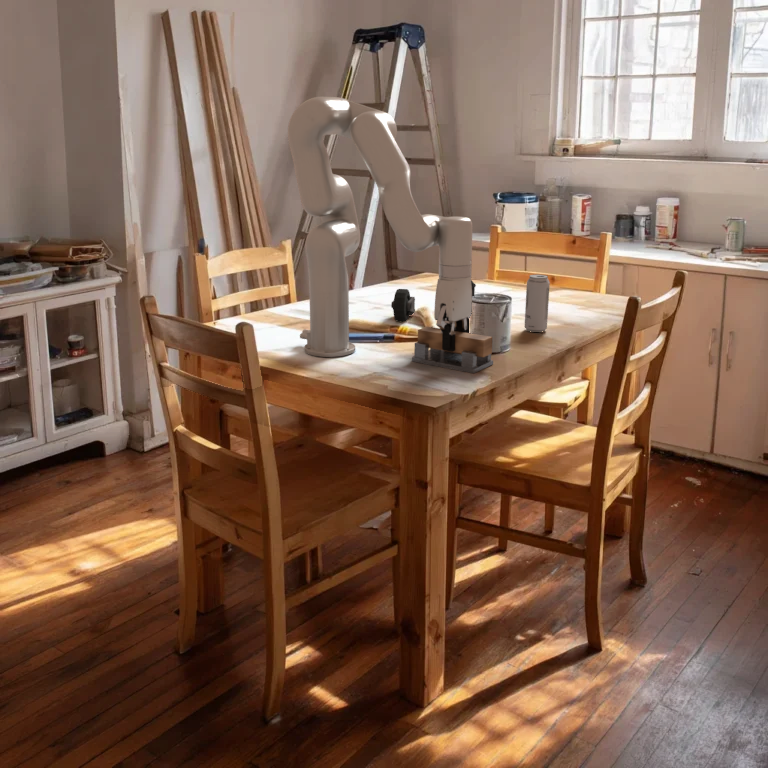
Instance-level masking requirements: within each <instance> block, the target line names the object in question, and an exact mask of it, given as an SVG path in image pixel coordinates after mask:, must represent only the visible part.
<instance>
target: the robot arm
mask: <svg viewBox="0 0 768 768" xmlns="http://www.w3.org/2000/svg"><path fill="white" fill-rule="evenodd" d="M397 134H398V127H397V123H396V121H395V119H394V118H393V117H392V116H391V115H390V114H389V113H387V112H385V111H383V110H379V109H376V108H373V107H370V106H366V105H364V104H361V103H358V102H355V101H352V100H349V99H346V98H344V97H338V96H315V97H312V98H309V99H307V100H305V101H304V102H302V103H300V105H298V107H296V108H295V110H294V111H293V113H292V114H291V116H290V119H289V122H288V127H287V138H288V139H287V140H288V145H289V150H290V153H291V157H292V161H293V167H294V172H295V177H296V183H297V188H298V193H299V197H300V202H301V205H302V208H303V210H304V211H305V213H306V214H307V215H308V216H311V217H314V218H320V220H321V221H320V222H321V223H319V224H317V225H315V226H314V227H312V228H311V230H309V232H308V233H307V235H306V239H305V242H304V243H305V245H304V247H305V248H304V249H305V257H306V261H307V262H306V263H307V270H308V289H309V329H306V328H305V329H303V330H302V332H301V333H300V335H299V339H301V340H303V339H304V340H306V344H305V345H304V352H305V353H306V354H308V355H310V356H314V357H321V358H323V357H324V358H335V357H343V356H348V355H351V354H353V353H355V352H356V345H355V344H354V343H352V342H350V319H349V318H350V313H349V312H350V310H349V307H350V306H349V303H350V302H349V301H350V300H349V299H350V297H349V294H350V293H349V292H350V289H349V274H348V273H349V272H348V268H347V267H348V266H347V263H346V262H347V261H346V257H349V256H350V255H352V254H354V253H355V252H356V250H357V249H358V248H359V245H360V242H361V230H360V225H359V220H358V213H357V208H356V203H355V199H354V193H353V190H352V189H351V186H350V185H349V183H348V181H347V180H346V179H345V178H344V177H342V176H341V175H338V174H336V173H335V174H334V173H333V171H332V166H331V159H330V156H329V152H328V150H327V147H326V145H325V142H324V137H325V136H331V135H338V136H341V137H344V138H346V139H349V140H352V142H353V144H354V146H355V147H356V150H357V151H358V154H359V155H360V157H361V158H362V160H363V162H364V164H365V165H366V167H367V169H368V171H369V173H370V175H371V177H372V179H373V181H374V182H375V185H376V186H377V190H378V195H379V199H380V202H381V206H382V210H383V212H384V215H385V217H386V219H387V221H388V223H389V226H390V227H391V229H392V230H393V232H394V234H395V236H396V238H397V239H398V241H399V242H400V244H401V245H402V246H403V247H404V248H405V249H406V250H408V251H410V252H415V253H417V252H418V253H419V252H423V251H425V250H427V249H429V248H431V247H435V246H438V279H437V282H436V288H435V298H434V309H433V310H434V311H433V312H434V314H433V316H434V320H435V321H436V326H437V328H439V329H441V333H442V349H443V350H446V351H445V352H449V351H452V352H451V353H454V352H453V351H455V335H454V331H458V332H465V333H466V331H465V330H466V329H467V322H468V320H469V318H470V316H471V314H472V313H471V312H472V285H471V280H472V269H473V268H472V266H473V265H472V264H473V261H472V260H473V222H472V220H471V219H470V218H469V217H465V216H455V215H454V216H441V215H435V214H431V213H428V214H427V213H426V214H421V212H420V210H419V209H418V207H417V204H416V202H415V200H414V197H413V195H412V190H411V183H410V181H411V175H412V174H411V172H412V171H411V168H410V165H409V163H408V161H407V159H406V158H405V155H404V153H402V151H401V149H400V147H399V145H398V143H397V142H396V138H397ZM447 318H449V321H447V320H446V319H447ZM446 324H450V328H449V326H448V325H446ZM454 326H455V329H454Z"/></svg>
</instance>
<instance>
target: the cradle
mask: <svg viewBox="0 0 768 768" xmlns="http://www.w3.org/2000/svg"><path fill="white" fill-rule="evenodd" d="M476 353H477V352H472V351H466V350H465V351H462V354H461V353H455V352H449V351H444V350H438V349H432V348H429V344H428V343H422V342H418V341H417V342H414V355H413V356H412V357H411V362H415V363H420V364H424V365H431V366H434V367H440V368H444V369H450V370H455V371H460V372H461V371H462V372H465V373H470V374H475V373H478V372H480V371H483V370H485V369H486V368H489V367H490V366H493V365H494V360H493V359H492V354H490V355H488V356H485V357H478V356H476Z"/></svg>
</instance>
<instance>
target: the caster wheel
mask: <svg viewBox="0 0 768 768" xmlns="http://www.w3.org/2000/svg"><path fill="white" fill-rule="evenodd" d="M410 294H411V293H410V291H409V289H407V288H398V289H396V291H395V292H394V298H393V300H392V301H391V309H392V310H393V319H394V320H395V321H396V322H404V323H405V322H407V321H408V319H409V318H410V317H409V315H412V314H413V313H414V314H415V311H416V308H415V305H416V303H415V302H416V298H415V296H411V295H410Z"/></svg>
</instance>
